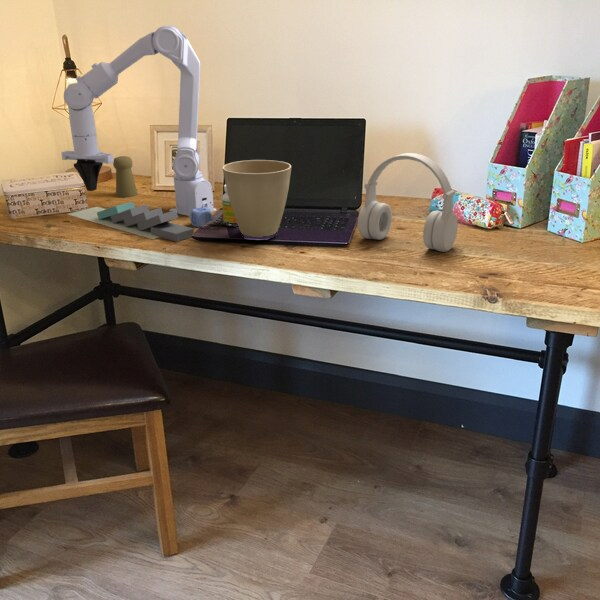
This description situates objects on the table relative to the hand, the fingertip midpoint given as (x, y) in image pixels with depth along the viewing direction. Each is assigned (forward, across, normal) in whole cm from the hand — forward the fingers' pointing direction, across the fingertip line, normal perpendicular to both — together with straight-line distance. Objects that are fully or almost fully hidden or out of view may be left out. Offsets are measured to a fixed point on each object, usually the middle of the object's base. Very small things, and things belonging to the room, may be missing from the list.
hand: (91, 190), depth 166 cm
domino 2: (+5, -10, +3) cm, 12 cm away
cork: (+7, +5, -19) cm, 21 cm away
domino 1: (+5, -5, +1) cm, 7 cm away
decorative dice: (+7, -30, -2) cm, 31 cm away
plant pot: (+7, -48, 0) cm, 48 cm away
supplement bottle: (+7, -38, -5) cm, 39 cm away
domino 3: (+5, -15, +4) cm, 16 cm away
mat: (+6, -11, +3) cm, 13 cm away
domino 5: (+5, -25, +7) cm, 26 cm away
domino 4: (+5, -20, +5) cm, 21 cm away
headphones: (+6, -80, -6) cm, 80 cm away
